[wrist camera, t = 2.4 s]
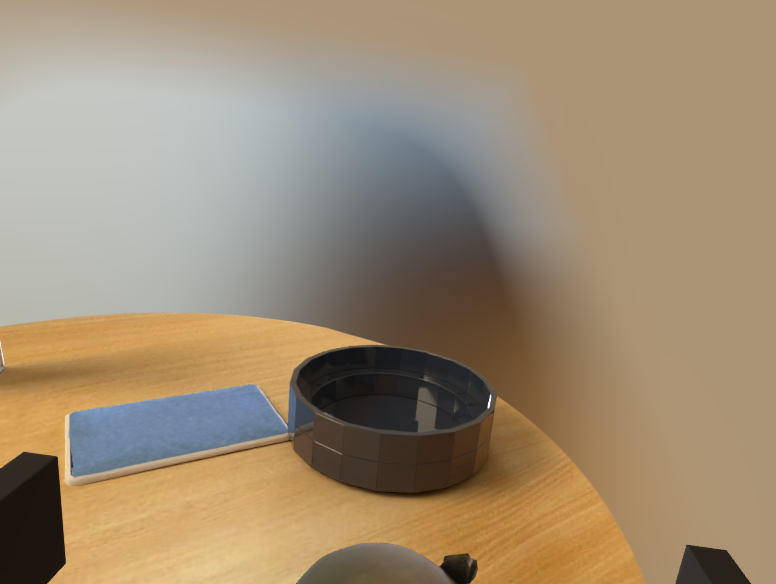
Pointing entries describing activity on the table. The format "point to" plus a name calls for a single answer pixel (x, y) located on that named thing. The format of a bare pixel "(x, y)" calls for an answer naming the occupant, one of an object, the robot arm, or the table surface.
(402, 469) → the dark grey dish
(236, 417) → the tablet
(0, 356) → the skyscraper
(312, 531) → the table surface
